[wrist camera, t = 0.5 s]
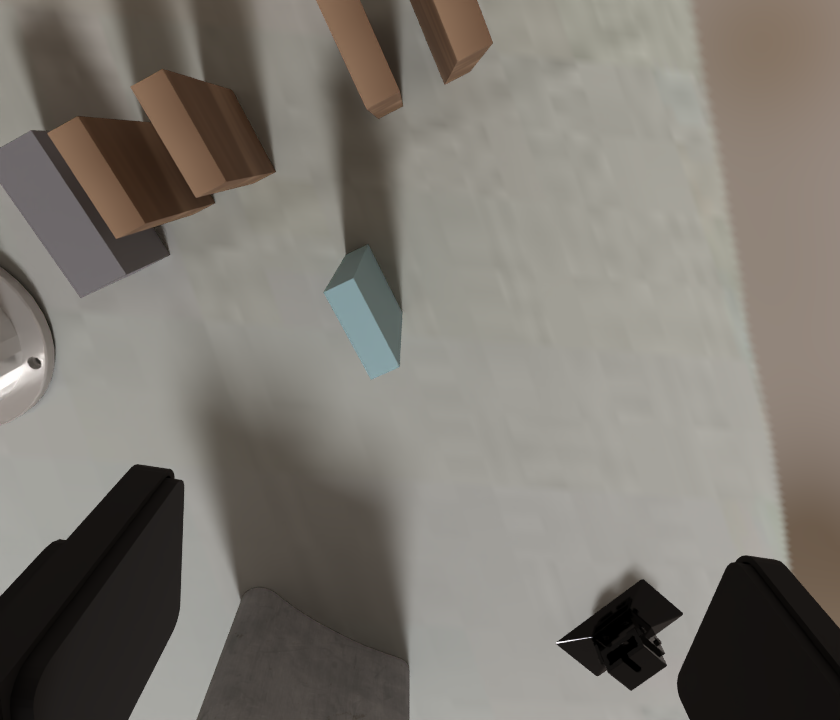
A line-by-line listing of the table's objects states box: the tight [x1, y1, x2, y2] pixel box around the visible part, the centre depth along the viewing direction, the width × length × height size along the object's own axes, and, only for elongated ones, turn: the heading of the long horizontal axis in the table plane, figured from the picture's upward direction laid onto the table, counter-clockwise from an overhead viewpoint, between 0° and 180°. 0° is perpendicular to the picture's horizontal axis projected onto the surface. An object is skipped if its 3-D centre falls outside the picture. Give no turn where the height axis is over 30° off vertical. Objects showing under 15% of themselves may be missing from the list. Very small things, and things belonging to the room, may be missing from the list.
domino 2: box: [131, 69, 276, 198], centre depth 30 cm, size 2×5×10 cm, turn 25°
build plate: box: [556, 579, 683, 691], centre depth 47 cm, size 12×7×5 cm, turn 136°
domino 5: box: [410, 0, 493, 84], centre depth 28 cm, size 2×5×10 cm, turn 25°
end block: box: [0, 130, 170, 298], centre depth 33 cm, size 3×8×6 cm, turn 25°
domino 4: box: [324, 244, 402, 379], centre depth 33 cm, size 2×5×10 cm, turn 25°
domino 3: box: [316, 0, 403, 119], centre depth 29 cm, size 2×5×10 cm, turn 25°
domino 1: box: [47, 116, 215, 239], centre depth 30 cm, size 2×5×10 cm, turn 25°
